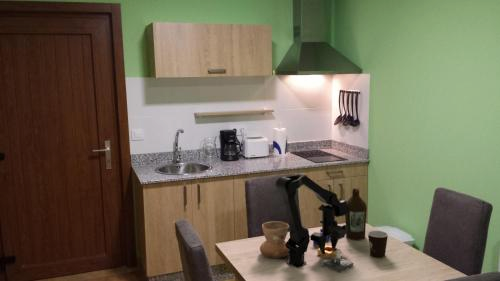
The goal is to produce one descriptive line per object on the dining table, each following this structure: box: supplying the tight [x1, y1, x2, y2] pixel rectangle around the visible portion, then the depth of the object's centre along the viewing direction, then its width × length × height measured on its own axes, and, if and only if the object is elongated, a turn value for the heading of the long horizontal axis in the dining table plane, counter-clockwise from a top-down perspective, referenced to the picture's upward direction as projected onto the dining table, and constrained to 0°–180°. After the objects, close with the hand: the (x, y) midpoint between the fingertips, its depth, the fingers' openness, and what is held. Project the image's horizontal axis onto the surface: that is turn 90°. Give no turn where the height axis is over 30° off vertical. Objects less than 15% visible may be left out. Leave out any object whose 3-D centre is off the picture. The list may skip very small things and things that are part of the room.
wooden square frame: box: [317, 245, 338, 260], centre depth 206 cm, size 7×7×2 cm
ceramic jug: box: [259, 220, 290, 259], centre depth 207 cm, size 18×14×14 cm
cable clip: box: [312, 231, 330, 246], centre depth 223 cm, size 12×4×6 cm, turn 145°
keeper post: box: [322, 248, 354, 273], centre depth 193 cm, size 9×9×8 cm
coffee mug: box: [367, 230, 389, 259], centre depth 205 cm, size 12×9×10 cm
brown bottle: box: [344, 187, 368, 241], centre depth 226 cm, size 11×11×25 cm
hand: (328, 251), depth 206 cm, fingers closed on wooden square frame, 7 cm apart
